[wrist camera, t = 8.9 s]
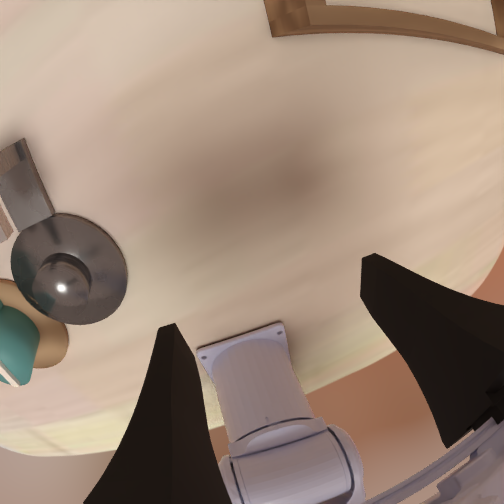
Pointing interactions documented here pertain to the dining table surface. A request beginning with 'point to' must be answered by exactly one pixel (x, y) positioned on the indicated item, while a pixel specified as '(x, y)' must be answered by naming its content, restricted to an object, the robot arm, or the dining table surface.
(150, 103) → the dining table surface
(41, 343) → the coaster
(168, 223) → the dining table surface
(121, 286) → the dark grey handled bowl
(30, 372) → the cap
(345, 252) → the dining table surface
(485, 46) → the tray
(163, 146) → the dining table surface
